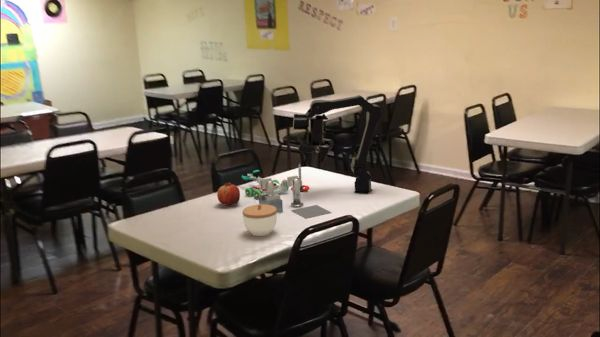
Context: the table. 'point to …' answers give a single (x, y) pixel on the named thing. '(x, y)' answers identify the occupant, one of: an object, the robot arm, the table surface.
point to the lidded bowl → (260, 219)
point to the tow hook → (301, 182)
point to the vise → (270, 195)
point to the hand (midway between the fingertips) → (316, 164)
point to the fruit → (228, 194)
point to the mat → (311, 211)
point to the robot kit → (257, 189)
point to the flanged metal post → (295, 190)
